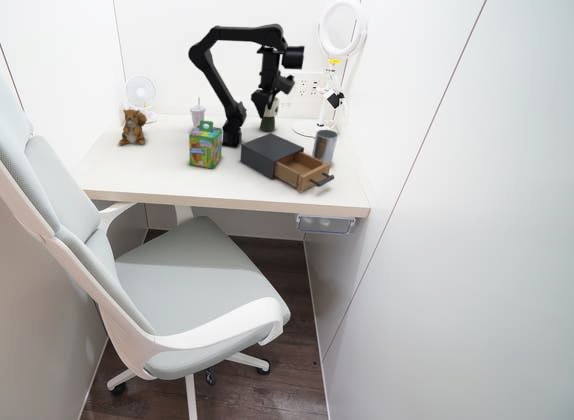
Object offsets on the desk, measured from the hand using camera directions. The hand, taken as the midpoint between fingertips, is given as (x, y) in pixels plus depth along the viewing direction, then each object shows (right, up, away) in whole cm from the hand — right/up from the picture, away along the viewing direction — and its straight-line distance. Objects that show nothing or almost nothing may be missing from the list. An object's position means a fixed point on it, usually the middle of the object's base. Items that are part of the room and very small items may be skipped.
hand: (265, 113), depth 116 cm
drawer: (+9, -24, -12) cm, 29 cm away
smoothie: (-24, -1, +22) cm, 33 cm away
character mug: (+5, -1, +20) cm, 21 cm away
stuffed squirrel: (-50, -6, +17) cm, 53 cm away
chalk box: (-21, -17, 0) cm, 28 cm away
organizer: (+1, -18, -3) cm, 19 cm away
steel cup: (+19, -18, -3) cm, 26 cm away
